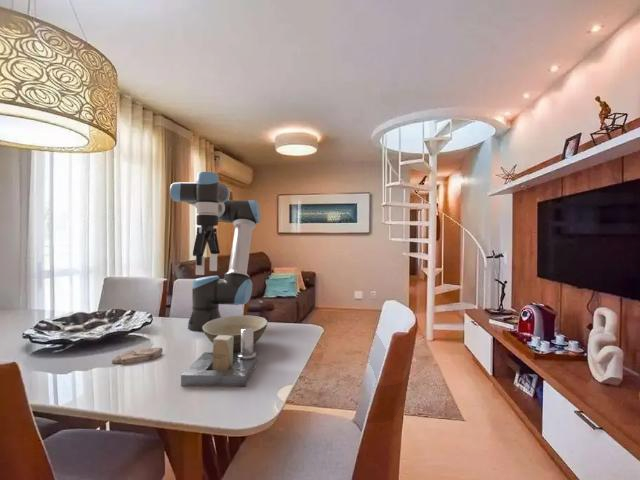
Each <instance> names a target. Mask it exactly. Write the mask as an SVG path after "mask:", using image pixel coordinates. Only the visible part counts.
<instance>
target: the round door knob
mask: <svg viewBox="0 0 640 480" xmlns="http://www.w3.org/2000/svg"><path fill="white" fill-rule="evenodd" d="M256 353H257V352H256V351H254V346H253V328H252V327H244V328H241V352H238V355H237V357H238V358H239V359H242V360H249V359H253V358H255V357H256Z"/></svg>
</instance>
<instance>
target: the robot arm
mask: <svg viewBox="0 0 640 480" xmlns="http://www.w3.org/2000/svg"><path fill="white" fill-rule="evenodd" d="M196 176H197V177H196V182H182V181H180V182H173V183H172V184H170V187H169V196H170V198H171V200H172V201H173V202H179V203H181V202H184V203H187V204H188V205H189V204H190V205H191V206H193V207H195V208H196V213H197V215H196V225H197V227H196V236H195V240H194V244H193V245H194V246H193V249H192V250H193V251H192V256H193V257H195V276H202V277H198V278H195V279H193V281H192V286H191V290H192V291H191V292H192V293H191V295H192V296H191V298H192V299H191V301H192V302H191V306H192V307H191V308H192V310H191V313H190V317H189V319H188V321H187V329H189V330H190V331H197V332H199V331H200V332H202V331H203V329H202V327H203V325H204V324H206V323H207V322H209V321H211V320H214V319H217V318H221V317H222V315H221V312H220V307H219V306H220V305H227V306H228V305H229V306H230V305H231V306H240V305H241V306H242V305H246V304H247V303H248V302H249V301H250V299H251V296H252V293H253V281H252V279H251V278H250V275H249V274H248V266H249V260H250V251H251V250H250V249H251V243H252V235H253V230H254V229H256V227H257V224H260V223H261V217H262V216H261V210H260V204H259V203H258V201H256V200H254V199H252V200H250V199H248V200H245V199H244V200H242V199H239V200H238V199H237V200H236V199H235V200H233V199H230V197H231V190H230V188H229V187H228V186H226V185H225V184H224V183H221V182H220V179H219V174H218V173H217V172H214V171H199V172H198V173H197V175H196ZM219 221H220V222H224V223H229V224H230V223H232V225H233V227H234V233H233V239H232V245H231V252H230V257H229V266H228V271H227V272H225V273H224V275H223V276H224V277H223V278H222V279H220V276H219V275H210V276H205V255H204V253H205V250H206V247H207V244H208V248H209V252H210V254H209V272H210V271H211V272H218V254H219V255H220V252H221V251H220V245H219V241H218V231H217V230H218V228H214V226H216V227H217V226H219ZM199 226H200V227H199ZM203 276H204V277H203ZM203 332H204V331H203Z"/></svg>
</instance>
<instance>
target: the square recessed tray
mask: <svg viewBox="0 0 640 480" xmlns="http://www.w3.org/2000/svg"><path fill="white" fill-rule="evenodd" d="M238 353H239V352H238ZM238 353H233V366H232V367H231V369H230V370H229V371H218V370H212V365H213V352H209V351H208V352H203V353H202V354H201V355H200V356H199V357H198V358H197V359H196V360H195V361H194V362H193V363H192V364H191V365H190V366H189V367H188V368H187V369H186V370H185V371H184V372H183V373H182V374H181V375H180V387H181V386H182V387H233V388H234V387H235V388H236V387H238V388H239V386H240V387H241V388H243V387H246V386H247V384H248V381H249V379H250V378H251V376H252V374H253V372H254V371H255V369H254V368H256V367H255V366H257V365H258V362H259V353H258V352H256V357H255V358H253V359H249V360H242V359H239V358H238V357H237V355H238Z"/></svg>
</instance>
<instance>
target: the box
mask: <svg viewBox="0 0 640 480" xmlns="http://www.w3.org/2000/svg"><path fill="white" fill-rule="evenodd" d="M233 339H234V336H227V335H218V336H217V337H215V338H214V339H213V343H212V344H213V345H212V353H213V365H212V370H218V371H229V370H230V369H231V367H232V366H233Z"/></svg>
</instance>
